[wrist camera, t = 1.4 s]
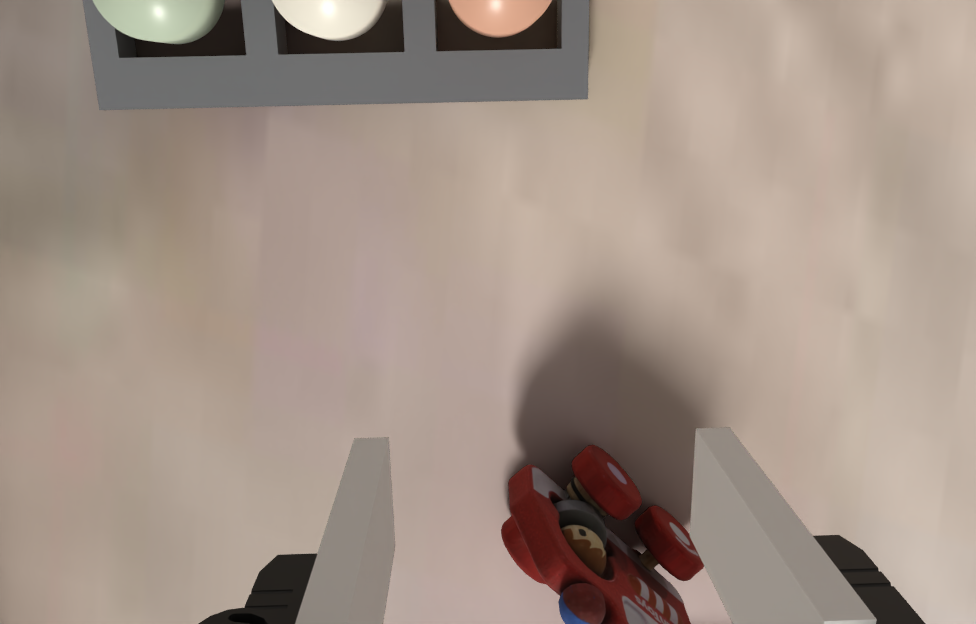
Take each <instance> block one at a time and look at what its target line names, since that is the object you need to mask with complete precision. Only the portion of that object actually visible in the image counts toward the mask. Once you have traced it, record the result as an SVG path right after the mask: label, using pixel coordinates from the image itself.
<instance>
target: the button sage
mask: <svg viewBox="0 0 976 624" xmlns="http://www.w3.org/2000/svg"><path fill="white" fill-rule="evenodd" d="M93 2H94V4H95V6H96V7H97V9H98V11H99V12H100V13H101V15H102V16H103V17H104V18H105V19H106V20H107V21H108V22H109V23H110V24H111V25H112V26H113V27H115V28H116V29H117V30H119V31H121V32H122V33H124V34H126V35H128V36H130V37H133V38H137V39H141V40H146V41H154V42H161V43H168V44H186V43H190V42H193V41H196V40H198V39H200V38H202V37H203V36H205V35H206V34H207V33H209V32H210V31H211V30H212V28H213V27H214V26H215V25H216V23H217V22H218V20H219V18H220V16H221V14H222V11H223V8H224V3H225V0H93Z"/></svg>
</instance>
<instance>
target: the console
mask: <svg viewBox="0 0 976 624" xmlns="http://www.w3.org/2000/svg"><path fill="white" fill-rule="evenodd" d="M83 6H84V12H85V19H86V25H87V32H88V38H89V45H90V52H91V58H92V65H93V71H94V78H95V84H96V91H97V97H98V104H99V110H122V109H167V108H212V107H257V106H302V105H347V104H393V103H438V102H483V101H528V100H573V99H588V47H589V0H557V49H524V50H477V51H438V46H437V19H436V0H402V8H403V29H404V50H405V52H381V53H333V54H288V50H287V39H286V27H285V18H284V17H283V16H282V15H281V14H280V13H279V11H278V10H277V8H276V7H275V5H274V3H273V2H272V0H241V7H242V17H243V27H244V37H245V47H246V55H238V56H190V57H143V58H137V54H136V46H135V39H134V38H133V37H130V36H128V35H126V34H124V33H122V32H121V31H119V30H117V29H116V28H115V27H113V26H112V25H111V24H110V23H109V22H108V21H107V20H106V19H105V18H104V17H103V16H102V15H101V13H100V12H99V11H98V9H97V7H96V6H95V4H94V2H93V0H83Z"/></svg>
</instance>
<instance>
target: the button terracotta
mask: <svg viewBox="0 0 976 624" xmlns="http://www.w3.org/2000/svg"><path fill="white" fill-rule="evenodd" d="M448 1H449V4H450V6H451V8H452V10H453V12H454V13H455V15H456V16H457V17H458V18H459V20H460V21H461V22H462V23H463V24H464V25H465V26H467V27H468V28H469V29H471V30H472V31H474V32H476V33H478V34H481V35H484V36H488V37H496V38H501V37H508V36H513V35H515V34H518V33H520V32H522V31H524V30H525V29H527V28H528V27H530V26H531V25H532V24H533V23H534V22H535V21H536V20H537V19H538V18H539V17H540V16H541V15H542V14H543V13H544V12H545V11H546V9H547V8H548V6H549V5H550V3H551V1H552V0H448Z"/></svg>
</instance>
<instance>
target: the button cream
mask: <svg viewBox="0 0 976 624" xmlns="http://www.w3.org/2000/svg"><path fill="white" fill-rule="evenodd" d="M272 2H273V3H274V5H275V7H276V8H277V10H278V11H279V13H280V14H281V15H282V16H283V17H284V18H285V19H286V20H287V21H288V22H289V23H290V24H291V25H293V26H294V27H296V28H297V29H299V30H301V31H303V32H305V33H307V34H311V35H314V36H317V37H320V38H323V39H326V40H332V41H344V40H350V39H353V38H356V37H359V36H361V35H362V34H364V33H366V32H367V31H368V30H370V29H371V28H372V27H373V26H374V25H375V24H376V23H377V21H378V20H379V19H380V17H381V15H382V13H383V11H384V9H385V7H386V3H387V0H272Z"/></svg>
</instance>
